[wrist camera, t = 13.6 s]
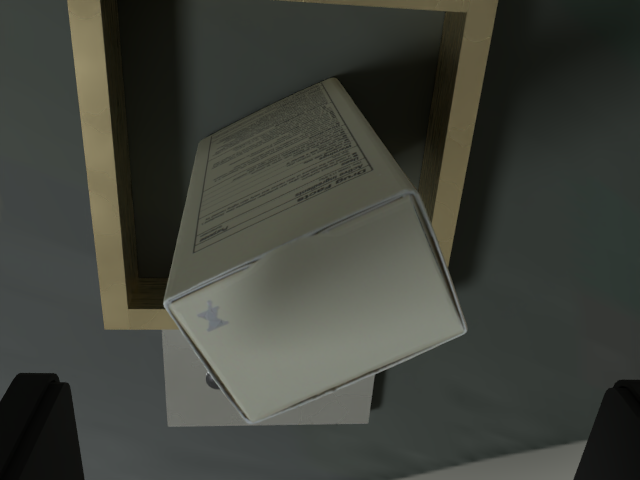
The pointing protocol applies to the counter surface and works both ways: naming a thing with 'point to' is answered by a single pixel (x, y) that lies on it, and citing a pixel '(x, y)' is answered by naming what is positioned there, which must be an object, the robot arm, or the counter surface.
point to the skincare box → (305, 257)
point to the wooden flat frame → (148, 293)
